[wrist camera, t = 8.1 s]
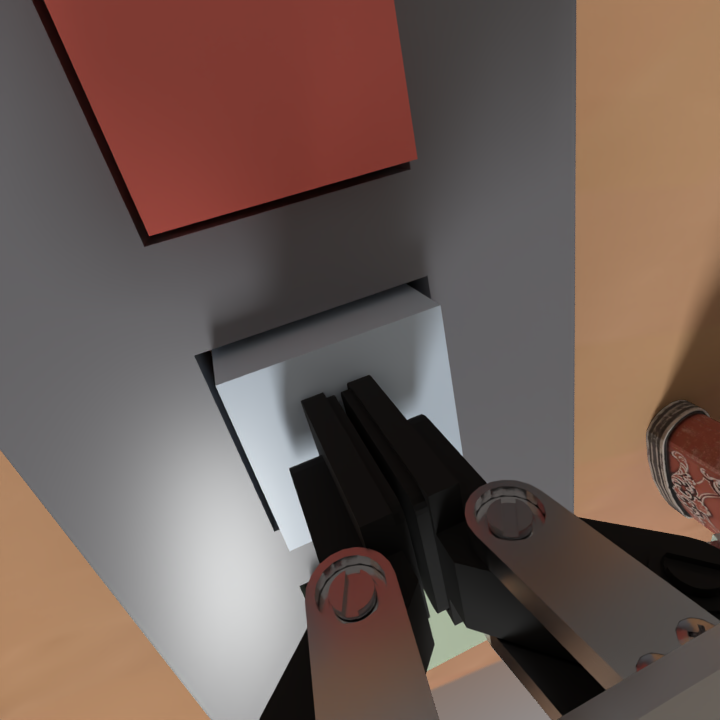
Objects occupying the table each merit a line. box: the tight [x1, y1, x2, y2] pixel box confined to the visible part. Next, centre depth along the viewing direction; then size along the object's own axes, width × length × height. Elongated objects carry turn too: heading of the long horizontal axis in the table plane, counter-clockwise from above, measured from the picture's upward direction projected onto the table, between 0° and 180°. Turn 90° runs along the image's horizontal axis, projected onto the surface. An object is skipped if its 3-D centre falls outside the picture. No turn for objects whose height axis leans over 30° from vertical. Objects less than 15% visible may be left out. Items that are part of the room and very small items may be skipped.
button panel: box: [0, 0, 576, 720], centre depth 13 cm, size 14×24×3 cm, turn 14°
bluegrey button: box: [212, 283, 463, 551], centre depth 12 cm, size 5×5×3 cm
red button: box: [44, 0, 418, 236], centre depth 8 cm, size 5×5×3 cm
